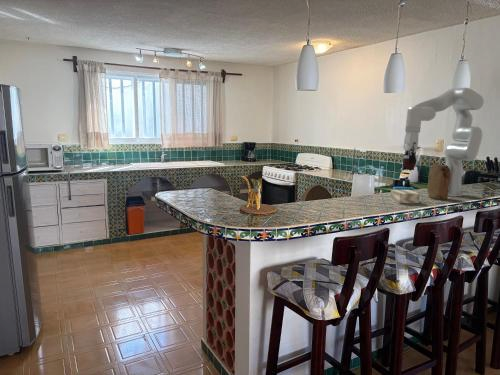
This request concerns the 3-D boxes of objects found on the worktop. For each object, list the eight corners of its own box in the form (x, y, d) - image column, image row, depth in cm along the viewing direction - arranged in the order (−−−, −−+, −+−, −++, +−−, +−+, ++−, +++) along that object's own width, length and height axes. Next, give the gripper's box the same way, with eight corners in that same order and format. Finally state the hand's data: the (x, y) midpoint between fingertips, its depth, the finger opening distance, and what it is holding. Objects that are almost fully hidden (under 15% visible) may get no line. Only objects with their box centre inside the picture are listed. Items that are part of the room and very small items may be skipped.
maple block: (408, 199, 212) (409, 189, 211) (418, 204, 201) (419, 193, 200) (390, 199, 211) (390, 189, 210) (399, 204, 201) (400, 193, 199)
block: (425, 196, 220) (428, 163, 216) (434, 196, 222) (438, 163, 219) (440, 200, 210) (444, 166, 206) (449, 200, 212) (454, 165, 209)
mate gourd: (412, 169, 209) (415, 142, 206) (418, 171, 201) (421, 143, 199) (399, 168, 209) (401, 142, 206) (405, 170, 201) (408, 143, 198)
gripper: (400, 129, 210) (397, 160, 214) (410, 129, 193) (407, 163, 197) (414, 129, 210) (411, 160, 213) (425, 130, 193) (421, 163, 196)
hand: (409, 161), depth 205 cm, fingers closed on mate gourd, 7 cm apart
